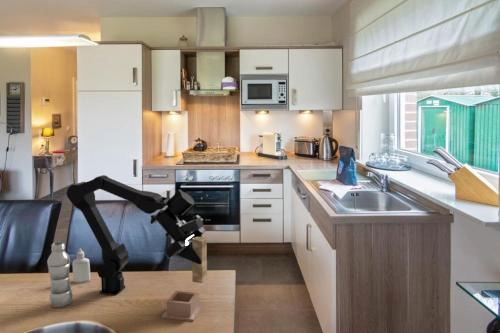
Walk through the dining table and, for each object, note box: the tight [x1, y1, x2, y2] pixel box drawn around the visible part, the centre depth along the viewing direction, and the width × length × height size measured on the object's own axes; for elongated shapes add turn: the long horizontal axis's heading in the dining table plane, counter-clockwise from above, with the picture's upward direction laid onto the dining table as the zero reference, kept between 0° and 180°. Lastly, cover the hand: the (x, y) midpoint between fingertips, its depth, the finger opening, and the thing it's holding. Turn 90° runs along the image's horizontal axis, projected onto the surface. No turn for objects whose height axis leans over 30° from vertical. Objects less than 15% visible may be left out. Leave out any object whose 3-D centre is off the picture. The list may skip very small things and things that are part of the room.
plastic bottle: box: [46, 241, 74, 308], centre depth 128 cm, size 6×7×20 cm
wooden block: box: [191, 236, 208, 284], centre depth 132 cm, size 4×4×14 cm
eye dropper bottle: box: [72, 248, 91, 284], centre depth 147 cm, size 4×6×12 cm
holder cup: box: [160, 290, 205, 322], centre depth 125 cm, size 10×10×5 cm
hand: (203, 261), depth 131 cm, fingers closed on wooden block, 3 cm apart
